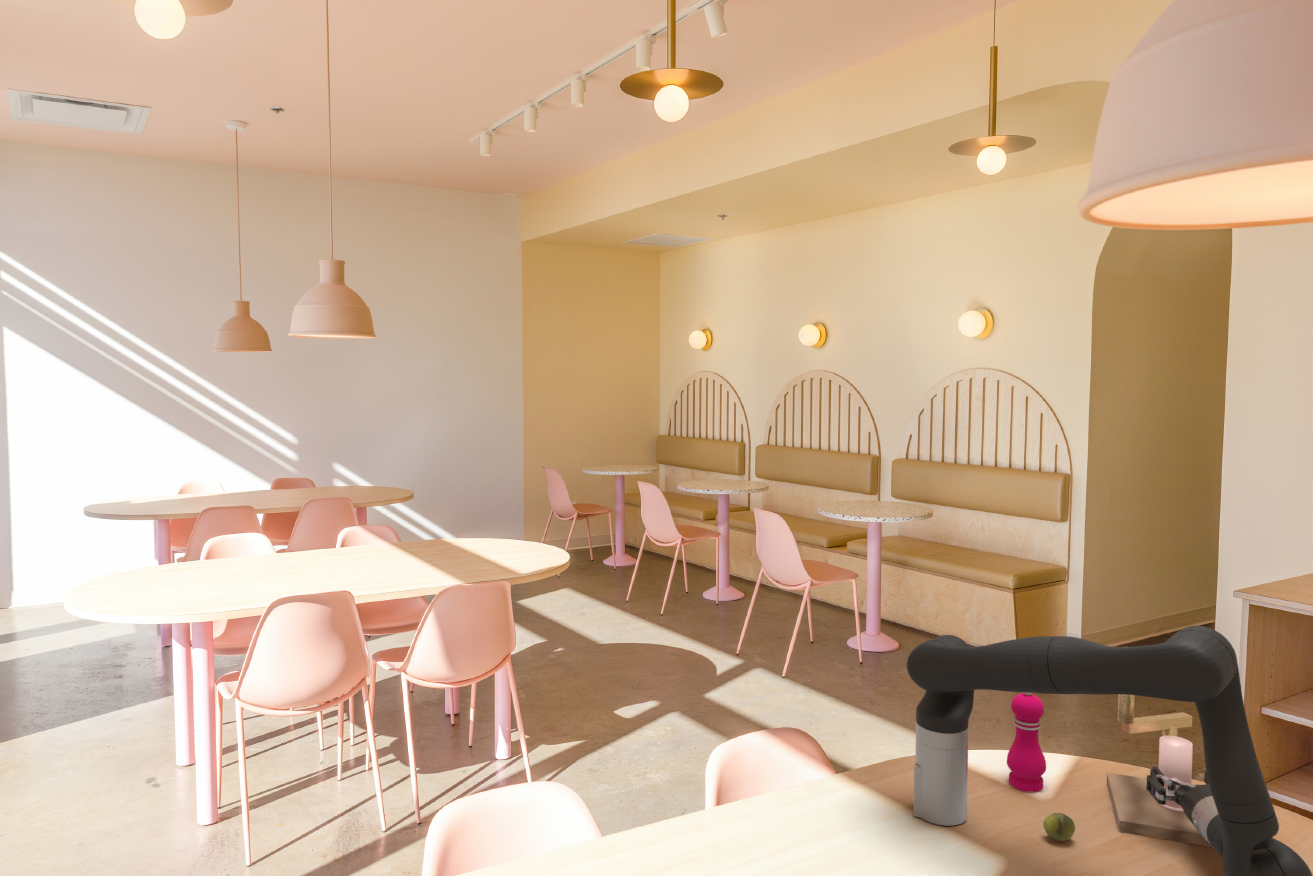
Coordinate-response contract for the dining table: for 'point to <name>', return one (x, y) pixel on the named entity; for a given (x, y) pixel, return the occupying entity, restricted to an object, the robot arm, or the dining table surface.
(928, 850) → the dining table surface
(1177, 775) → the cover
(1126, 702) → the brass crank handle
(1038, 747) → the pepper mill
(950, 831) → the dining table surface
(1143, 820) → the base
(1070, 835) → the lime
